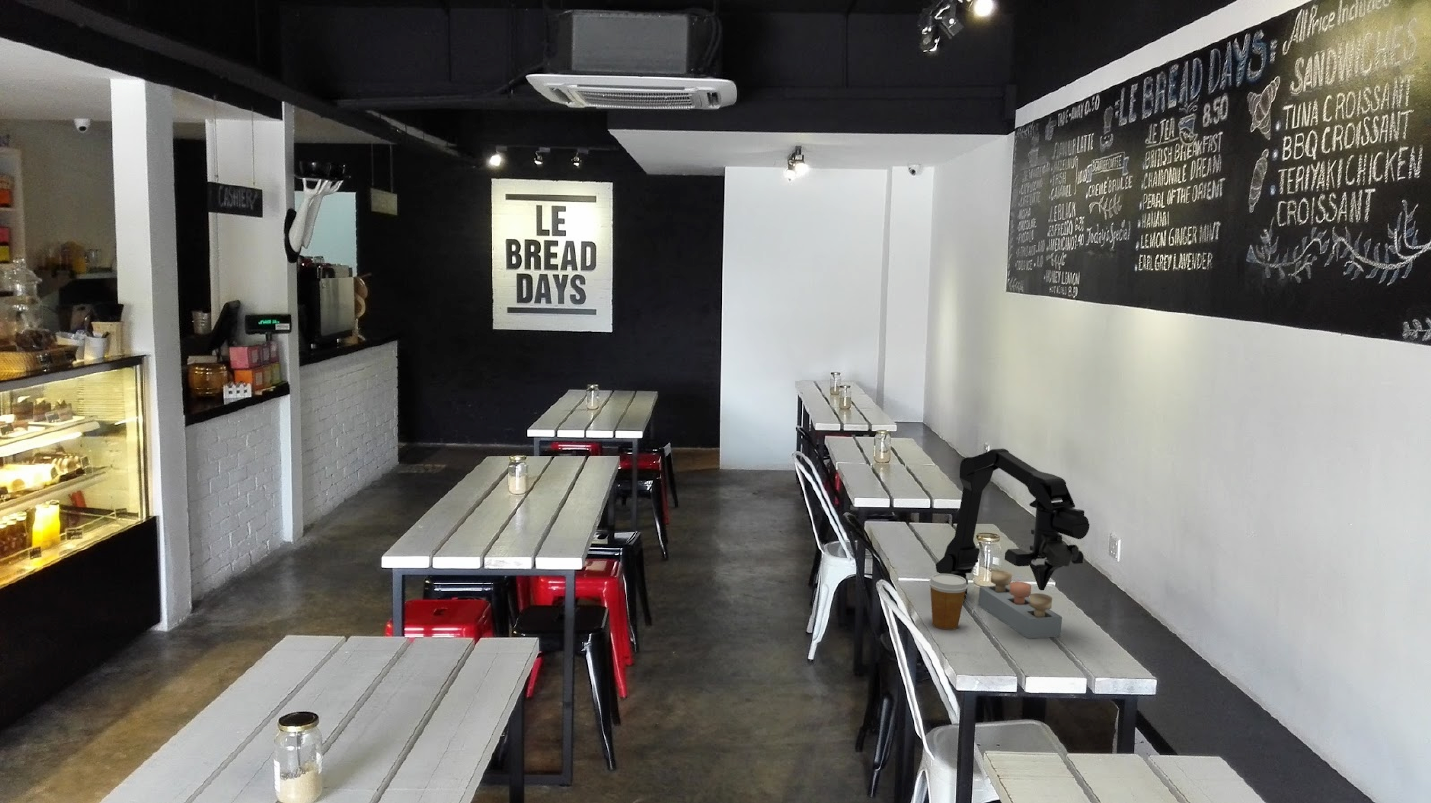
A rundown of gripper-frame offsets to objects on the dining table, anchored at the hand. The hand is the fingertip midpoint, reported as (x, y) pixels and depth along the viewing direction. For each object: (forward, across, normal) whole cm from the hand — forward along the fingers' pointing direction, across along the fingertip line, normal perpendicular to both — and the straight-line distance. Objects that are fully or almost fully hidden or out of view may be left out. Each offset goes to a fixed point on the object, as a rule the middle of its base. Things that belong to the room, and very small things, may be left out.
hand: (1041, 589), depth 250 cm
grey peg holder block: (+11, 0, +9) cm, 14 cm away
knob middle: (+9, 0, +9) cm, 13 cm away
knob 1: (+9, 0, +18) cm, 20 cm away
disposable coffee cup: (+11, -20, +9) cm, 25 cm away
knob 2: (+9, 0, 0) cm, 9 cm away
